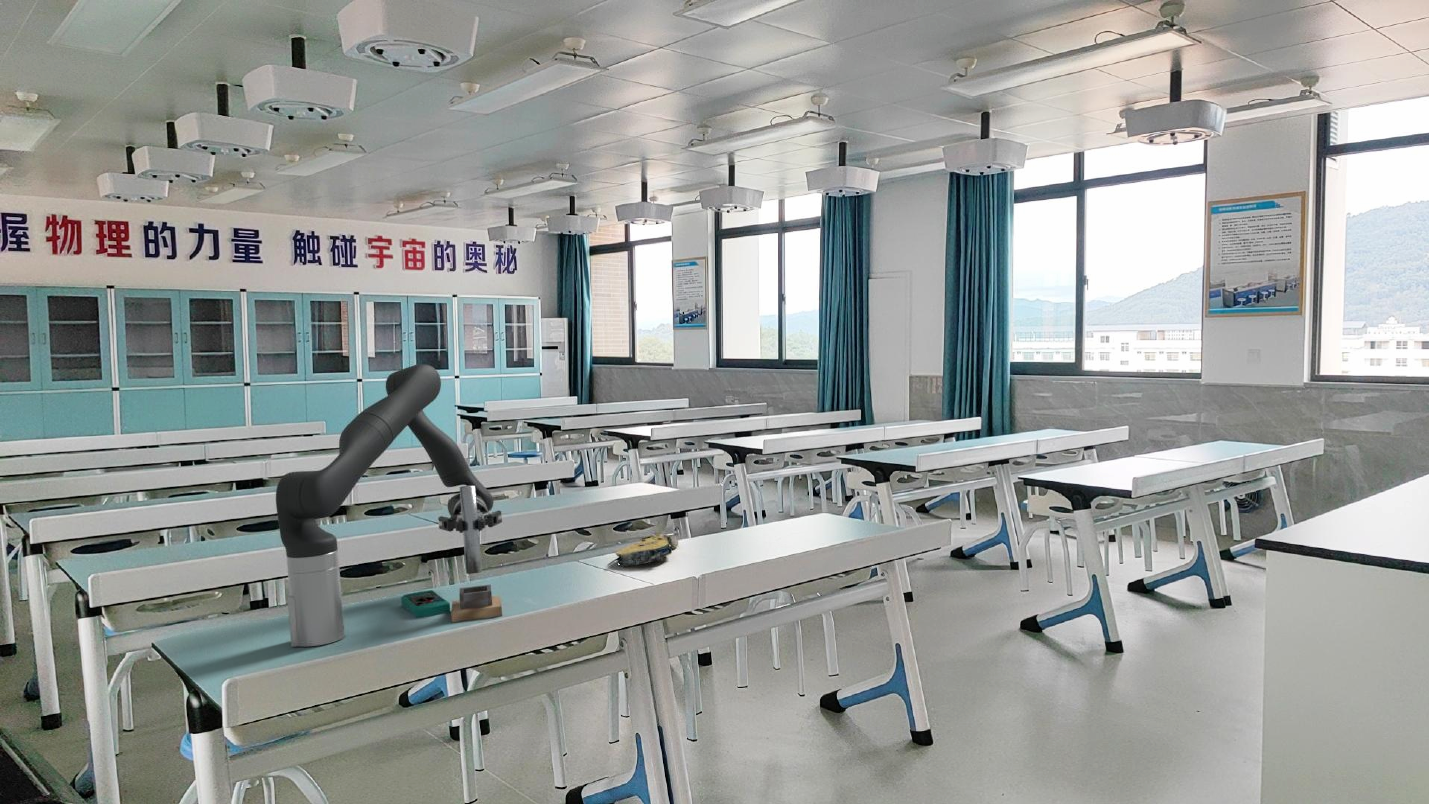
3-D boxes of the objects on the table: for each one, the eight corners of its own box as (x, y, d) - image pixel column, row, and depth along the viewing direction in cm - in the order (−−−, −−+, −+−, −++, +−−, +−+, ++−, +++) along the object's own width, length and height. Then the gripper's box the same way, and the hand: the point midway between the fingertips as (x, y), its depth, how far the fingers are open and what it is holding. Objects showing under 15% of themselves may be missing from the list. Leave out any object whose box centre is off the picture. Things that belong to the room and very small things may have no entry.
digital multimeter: (416, 620, 196) (415, 606, 195) (401, 606, 208) (400, 593, 208) (451, 614, 199) (450, 600, 199) (434, 601, 212) (433, 588, 212)
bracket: (451, 622, 191) (450, 597, 190) (452, 610, 200) (451, 587, 200) (502, 615, 193) (500, 591, 193) (500, 604, 203) (499, 581, 203)
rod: (466, 574, 195) (459, 488, 194) (466, 571, 198) (459, 486, 197) (481, 572, 195) (475, 486, 194) (481, 569, 198) (475, 484, 198)
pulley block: (693, 522, 255) (652, 544, 227) (697, 543, 255) (657, 568, 227) (646, 530, 260) (600, 553, 231) (650, 551, 260) (605, 576, 231)
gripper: (436, 500, 208) (433, 512, 191) (501, 494, 211) (504, 505, 195) (439, 534, 208) (436, 548, 192) (503, 527, 212) (506, 540, 195)
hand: (470, 526), depth 193 cm, fingers closed on rod, 3 cm apart
